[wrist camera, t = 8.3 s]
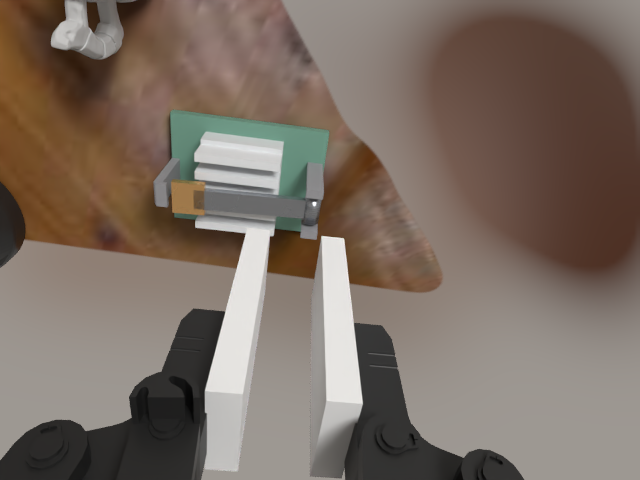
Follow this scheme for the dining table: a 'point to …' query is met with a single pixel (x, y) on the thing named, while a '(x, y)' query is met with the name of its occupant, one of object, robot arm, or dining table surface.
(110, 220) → the dining table surface
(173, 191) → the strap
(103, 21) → the white cup
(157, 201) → the heatsink board
